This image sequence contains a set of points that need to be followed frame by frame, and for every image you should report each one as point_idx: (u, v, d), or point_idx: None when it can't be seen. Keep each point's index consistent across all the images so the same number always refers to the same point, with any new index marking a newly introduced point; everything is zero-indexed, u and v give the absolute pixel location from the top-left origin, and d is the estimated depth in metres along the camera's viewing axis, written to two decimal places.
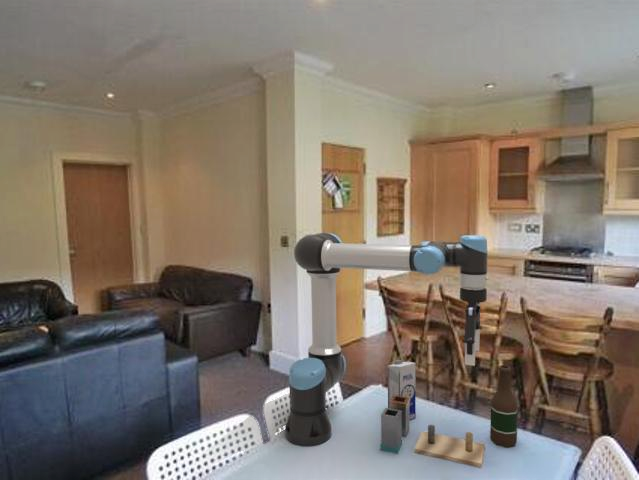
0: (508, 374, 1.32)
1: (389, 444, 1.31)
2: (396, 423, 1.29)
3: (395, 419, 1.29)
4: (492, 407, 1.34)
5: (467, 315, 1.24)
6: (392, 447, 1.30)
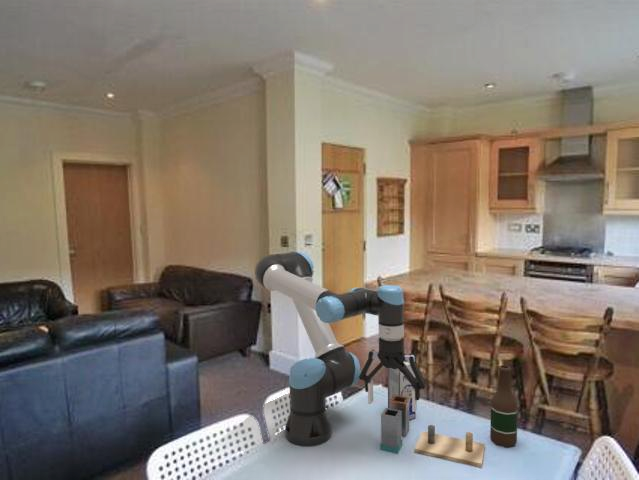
0: (508, 374, 1.32)
1: (389, 444, 1.31)
2: (396, 423, 1.29)
3: (395, 419, 1.29)
4: (492, 407, 1.34)
5: None
6: (392, 447, 1.30)
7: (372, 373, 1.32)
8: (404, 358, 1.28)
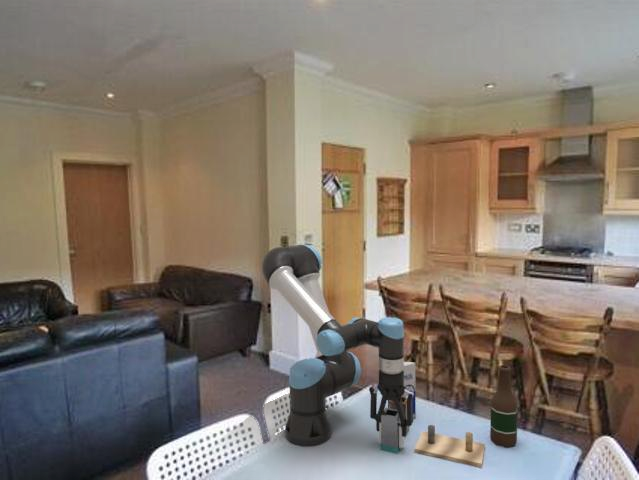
0: (508, 374, 1.32)
1: (389, 444, 1.31)
2: (396, 423, 1.29)
3: (395, 419, 1.29)
4: (492, 407, 1.34)
5: None
6: (392, 447, 1.30)
7: (380, 410, 1.32)
8: (403, 392, 1.29)
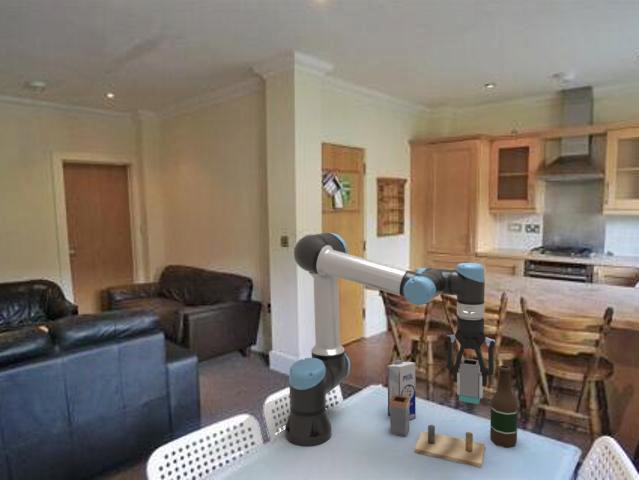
0: (508, 374, 1.32)
1: (469, 394, 1.25)
2: (477, 372, 1.23)
3: (476, 367, 1.23)
4: (492, 407, 1.34)
5: None
6: (472, 397, 1.24)
7: (458, 360, 1.27)
8: (484, 339, 1.23)
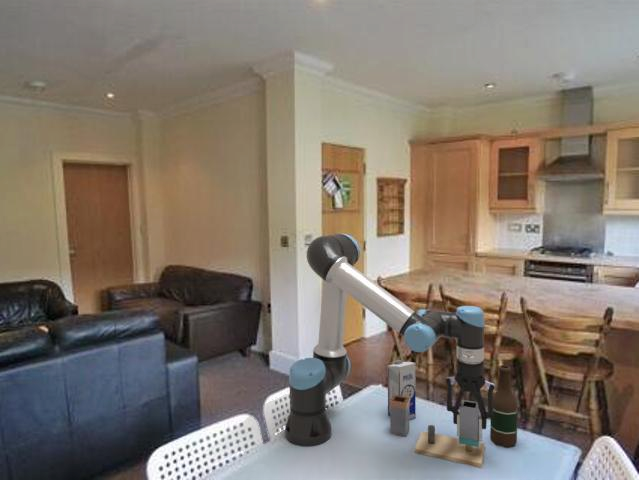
0: (508, 374, 1.32)
1: (468, 437, 1.26)
2: (476, 415, 1.24)
3: (475, 411, 1.24)
4: None
5: None
6: (472, 440, 1.25)
7: (457, 402, 1.28)
8: (484, 383, 1.24)
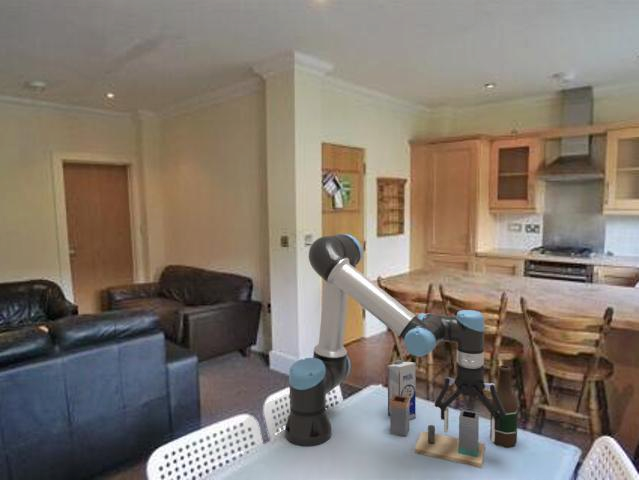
0: (508, 374, 1.32)
1: (468, 447, 1.26)
2: (476, 425, 1.25)
3: (475, 421, 1.25)
4: None
5: None
6: (471, 450, 1.26)
7: (449, 401, 1.29)
8: (484, 386, 1.25)
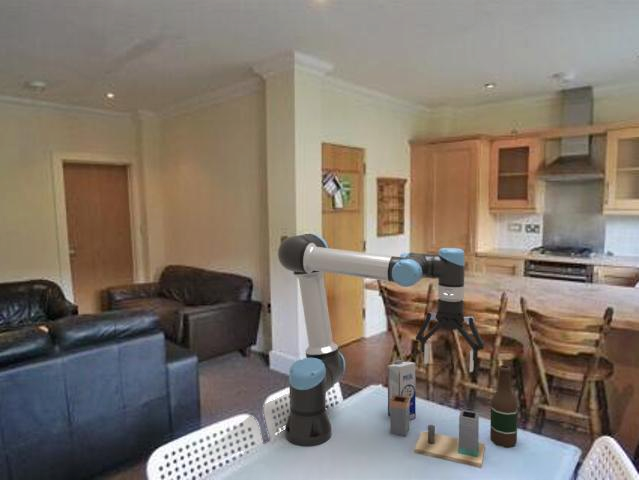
0: (508, 374, 1.32)
1: (468, 447, 1.26)
2: (476, 425, 1.25)
3: (475, 421, 1.25)
4: (492, 407, 1.34)
5: None
6: (471, 450, 1.26)
7: (429, 334, 1.35)
8: (463, 319, 1.30)
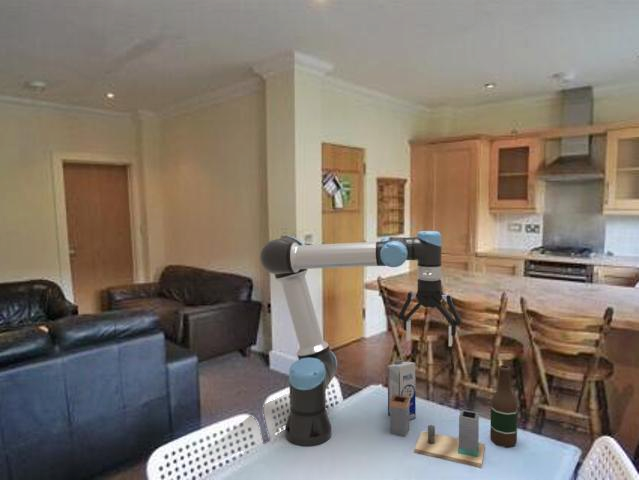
0: (508, 374, 1.32)
1: (468, 447, 1.26)
2: (476, 425, 1.25)
3: (475, 421, 1.25)
4: (492, 407, 1.34)
5: None
6: (471, 450, 1.26)
7: (411, 312, 1.43)
8: (441, 297, 1.39)
